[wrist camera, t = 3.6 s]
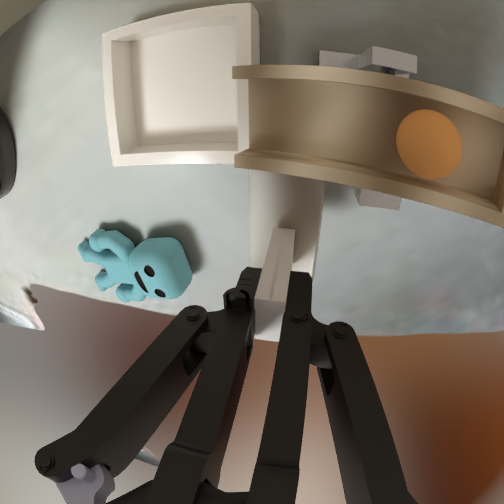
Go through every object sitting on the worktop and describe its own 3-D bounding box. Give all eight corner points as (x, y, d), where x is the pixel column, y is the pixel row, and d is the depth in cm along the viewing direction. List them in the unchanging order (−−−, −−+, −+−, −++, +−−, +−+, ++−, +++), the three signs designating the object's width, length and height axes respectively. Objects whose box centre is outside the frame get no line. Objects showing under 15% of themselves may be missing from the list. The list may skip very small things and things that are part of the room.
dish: (134, 155, 24) (113, 166, 22) (125, 35, 18) (101, 33, 15) (260, 153, 23) (252, 164, 20) (259, 13, 16) (250, 2, 13)
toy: (62, 244, 29) (148, 237, 23) (88, 224, 33) (177, 212, 27) (98, 307, 34) (187, 321, 28) (118, 285, 38) (207, 291, 32)
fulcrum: (314, 166, 22) (317, 208, 15) (319, 51, 17) (325, 31, 10) (433, 183, 21) (477, 229, 14) (446, 76, 15) (504, 81, 8)
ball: (453, 178, 11) (396, 161, 13) (463, 118, 10) (403, 102, 11) (455, 196, 9) (386, 175, 11) (470, 121, 8) (395, 101, 9)
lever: (255, 262, 22) (239, 282, 20) (254, 68, 14) (231, 66, 12) (450, 313, 16) (452, 340, 14) (513, 116, 9) (532, 122, 7)
